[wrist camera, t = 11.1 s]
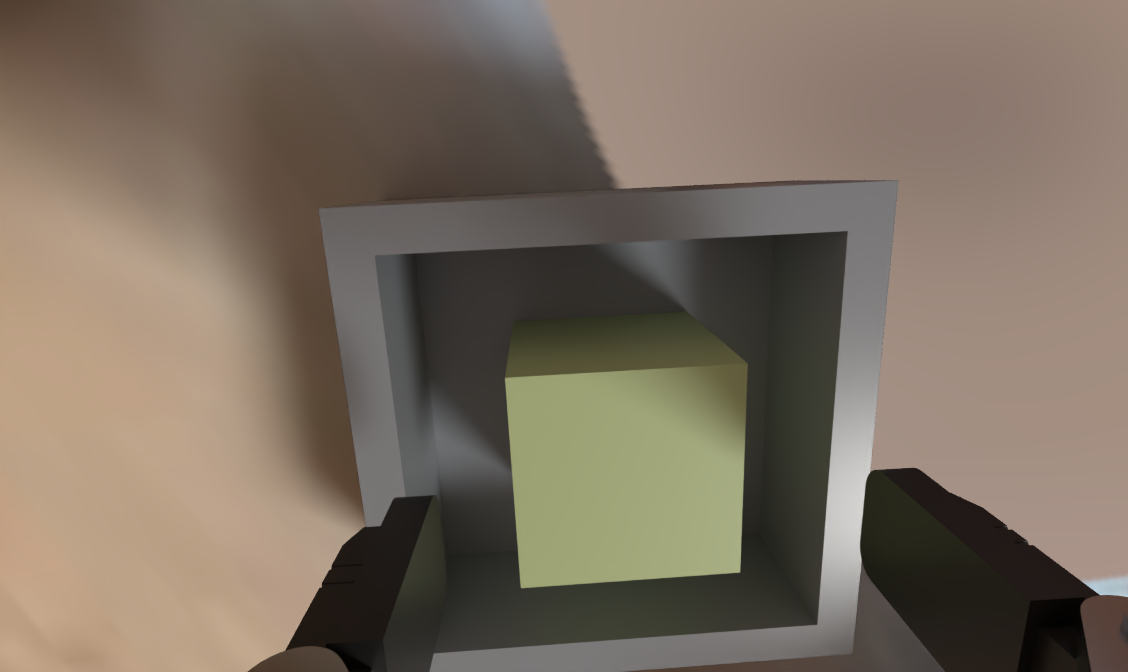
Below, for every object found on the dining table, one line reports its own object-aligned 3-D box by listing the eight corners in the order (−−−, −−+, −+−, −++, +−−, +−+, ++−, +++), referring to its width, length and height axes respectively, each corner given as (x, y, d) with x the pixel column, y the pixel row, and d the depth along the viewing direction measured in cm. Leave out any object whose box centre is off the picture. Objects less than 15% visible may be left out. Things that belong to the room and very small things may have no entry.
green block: (687, 311, 17) (747, 363, 12) (685, 468, 18) (740, 572, 13) (513, 321, 17) (504, 378, 12) (524, 479, 18) (520, 588, 13)
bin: (795, 180, 17) (898, 180, 12) (776, 540, 20) (852, 654, 15) (380, 200, 17) (318, 208, 12) (425, 565, 20) (390, 689, 15)
